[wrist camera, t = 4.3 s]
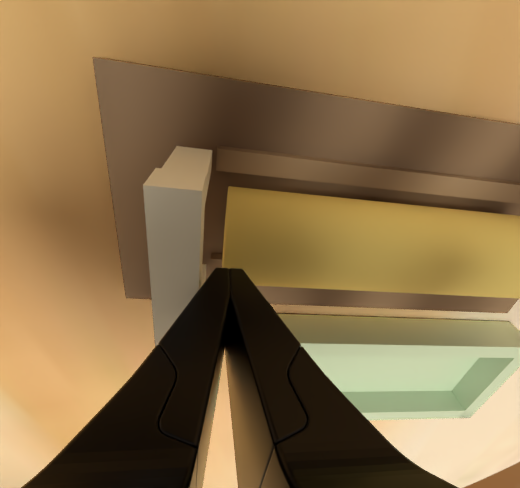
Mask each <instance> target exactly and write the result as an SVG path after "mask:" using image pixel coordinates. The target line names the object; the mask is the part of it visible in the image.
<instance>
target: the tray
mask: <svg viewBox="0 0 520 488" xmlns="http://www.w3.org/2000/svg"><path fill="white" fill-rule="evenodd" d="M278 315H279V317H280V318H281V319H282V321H283V322H284V323H285V324H286V326H287V327H288V328H289V330H290V331H291V332H292V333H293V335H294V336H295V337H296V339H297V340H298V341H299V342H300V344H301V346H302V347H304V349H305V350H306V351H307V353H308V354H309V355H310V357H311V358H312V359H313V360H314V361H315V363H316V364H317V365H318V366H319V368H320V369H321V370H322V371H323V372H324V374H325V375H326V376H327V377H328V378H329V379H330V380H331V381H332V382H333V384H334V385H335V386H336V387H337V388H338V389H339V390H340V391H341V392H342V393H343V394H344V395H345V397H346V398H347V399H348V400H349V401H350V402H351V403H352V404H353V405H354V406H355V407H356V408H357V409H358V410H359V411H360V412H361V413H362V414H363V415H364V416H365V417H366V419H367V420H399V419H438V418H470V417H471V416H472V415H473V414H474V413H475V412H476V411H477V410H478V409H479V408H480V407H481V406H482V405H483V404H484V403H485V402H486V401H487V400H488V399H489V398H490V397H491V396H492V395H493V394H494V393H495V392H496V391H497V390H498V389H499V388H500V387H501V386H502V384H503V383H504V382H505V381H506V380H507V379H508V378H509V377H510V376H511V375H512V374H513V373H514V372H515V371H516V370H517V369H518V368H519V367H520V331H519V330H518V329H517V328H516V327H515V326H514V325H513V324H512V323H510V322H508V321H479V320H450V319H421V318H392V317H362V316H333V315H304V314H278Z"/></svg>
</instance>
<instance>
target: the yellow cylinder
mask: <svg viewBox="0 0 520 488" xmlns="http://www.w3.org/2000/svg"><path fill="white" fill-rule="evenodd" d="M222 268H229V269H230V268H238V269H243V270H244V271H245V273H246V274H247V275H248V277H249V278H250V279H251V281H252V282H253V283H254V284H255V286H273V287H294V288H314V289H335V290H355V291H376V292H396V293H417V294H437V295H457V296H478V297H498V298H519V299H520V216H517V215H507V214H497V213H488V212H478V211H468V210H458V209H448V208H438V207H428V206H419V205H409V204H399V203H389V202H379V201H369V200H359V199H349V198H340V197H330V196H320V195H310V194H300V193H290V192H280V191H271V190H261V189H251V188H241V187H231V186H229V187H228V193H227V203H226V214H225V226H224V240H223V255H222Z"/></svg>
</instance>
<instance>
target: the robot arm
mask: <svg viewBox="0 0 520 488" xmlns="http://www.w3.org/2000/svg"><path fill="white" fill-rule="evenodd" d="M224 349H225V355H226V366H227V376H228V387H229V397H230V408H231V418H232V429H233V439H234V450H235V460H236V471H237V481H238V488H458V487H456V486H454V485H452V484H450V483H448V482H446V481H444V480H443V479H441V478H439V477H437V476H435V475H433V474H431V473H429V472H427V471H425V470H424V469H422V468H421V467H419V466H417V465H416V464H414V463H413V462H412V461H410V460H409V459H408V458H406V457H405V456H404V455H403V454H402V453H400V452H399V451H398V450H397V449H396V448H395V447H394V446H393V445H392V444H391V443H390V442H389V441H388V440H387V439H386V438H385V437H384V436H383V435H382V434H381V433H380V432H379V431H378V430H377V429H376V428H375V427H374V426H373V425H372V424H371V423H370V422H369V421H368V420H367V419H366V417H365V416H364V415H363V414H362V413H361V412H360V411H359V410H358V409H357V408H356V407H355V406H354V405H353V404H352V403H351V402H350V401H349V400H348V399H347V398H346V397H345V395H344V394H343V393H342V392H341V391H340V390H339V389H338V388H337V387H336V386H335V385H334V384H333V382H332V381H331V380H330V379H329V378H328V377H327V376H326V375H325V374H324V372H323V371H322V370H321V369H320V368H319V366H318V365H317V364H316V363H315V361H314V360H313V359H312V358H311V357H310V355H309V354H308V353H307V351H306V350H305V349H304V347H302V346H301V344H300V342H299V341H298V340H297V339H296V337H295V336H294V335H293V333H292V332H291V331H290V330H289V328H288V327H287V326H286V324H285V323H284V322H283V321H282V319H281V318H280V317H279V315H278V314H277V313H276V312H275V310H274V309H273V308H272V306H271V305H270V304H269V302H268V301H267V300H266V299H265V297H264V296H263V295H262V293H261V292H260V291H259V290H258V288H257V287H256V286H255V284H254V283H253V282H252V281H251V279H250V278H249V277H248V275H247V274H246V273H245V271H244V270H243V269H238V268H230V269H229V268H220V267H217V268H215V269H214V270H213V272H212V273H211V274H210V276H209V277H208V278H207V280H206V281H205V282H204V283H203V285H202V286H201V287H200V289H199V290H198V291H197V293H196V294H195V295H194V297H193V298H192V299H191V301H190V302H189V303H188V305H187V306H186V307H185V308H184V310H183V311H182V312H181V314H180V315H179V316H178V318H177V319H176V320H175V322H174V323H173V324H172V326H171V327H170V328H169V330H168V331H167V332H166V333H165V335H164V336H163V337H162V339H161V340H160V341H159V343H158V345H156V346H155V348H154V349H153V350H152V352H151V353H150V354H149V356H148V357H147V358H146V359H145V361H144V362H143V363H142V364H141V366H140V367H139V368H138V369H137V371H136V372H135V373H134V374H133V375H132V377H131V378H130V379H129V380H128V381H127V382H126V383H125V384H124V385H123V386H122V388H121V389H120V390H119V391H118V392H117V393H116V394H115V395H114V396H113V397H112V398H111V399H110V400H109V402H108V403H107V404H106V405H105V406H104V407H103V408H102V409H101V410H100V411H99V412H98V413H97V414H96V415H95V416H94V417H93V418H92V419H91V420H90V421H89V423H88V424H87V425H86V426H85V427H84V428H83V429H82V430H81V431H80V432H79V433H78V434H77V435H76V436H75V437H74V438H73V439H72V440H71V441H70V442H69V443H68V445H67V446H66V447H65V448H64V449H63V450H62V451H61V452H60V453H59V454H58V455H57V456H56V457H55V458H54V459H53V460H52V461H51V462H50V463H49V464H48V465H47V466H46V467H45V468H44V469H43V470H42V471H40V472H39V473H38V474H37V475H36V476H35V477H34V478H32V479H31V480H30V481H29V482H28V483H26V484H25V485H24V486H23V487H21V488H202V486H203V480H204V473H205V467H206V461H207V455H208V449H209V442H210V436H211V430H212V424H213V418H214V411H215V405H216V399H217V393H218V387H219V380H220V374H221V368H222V362H223V355H224Z"/></svg>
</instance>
